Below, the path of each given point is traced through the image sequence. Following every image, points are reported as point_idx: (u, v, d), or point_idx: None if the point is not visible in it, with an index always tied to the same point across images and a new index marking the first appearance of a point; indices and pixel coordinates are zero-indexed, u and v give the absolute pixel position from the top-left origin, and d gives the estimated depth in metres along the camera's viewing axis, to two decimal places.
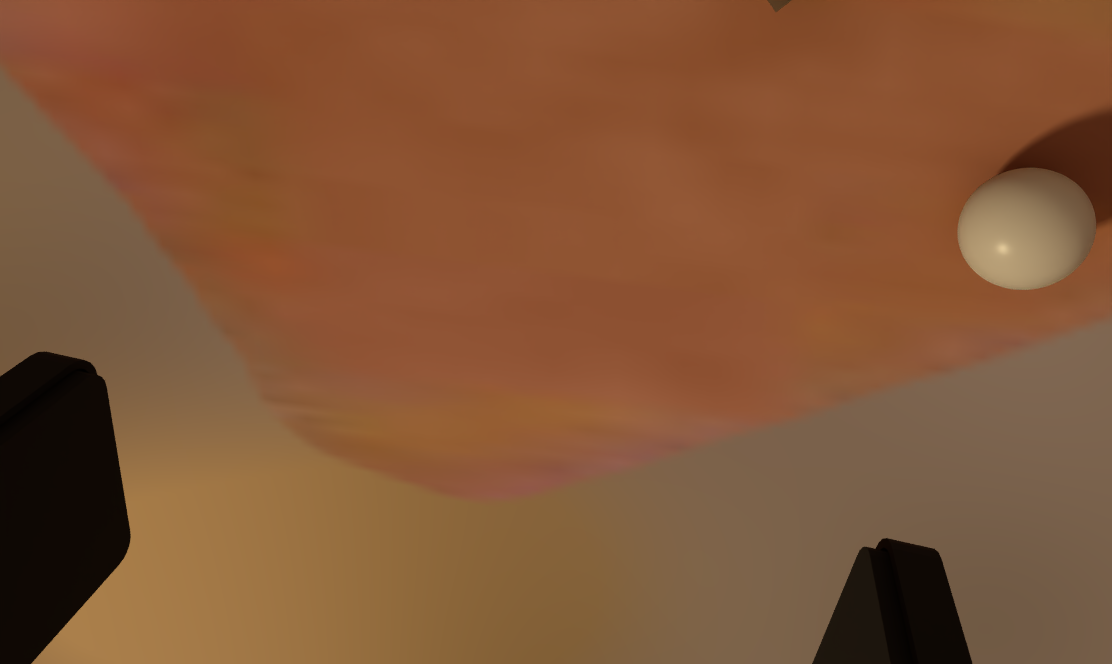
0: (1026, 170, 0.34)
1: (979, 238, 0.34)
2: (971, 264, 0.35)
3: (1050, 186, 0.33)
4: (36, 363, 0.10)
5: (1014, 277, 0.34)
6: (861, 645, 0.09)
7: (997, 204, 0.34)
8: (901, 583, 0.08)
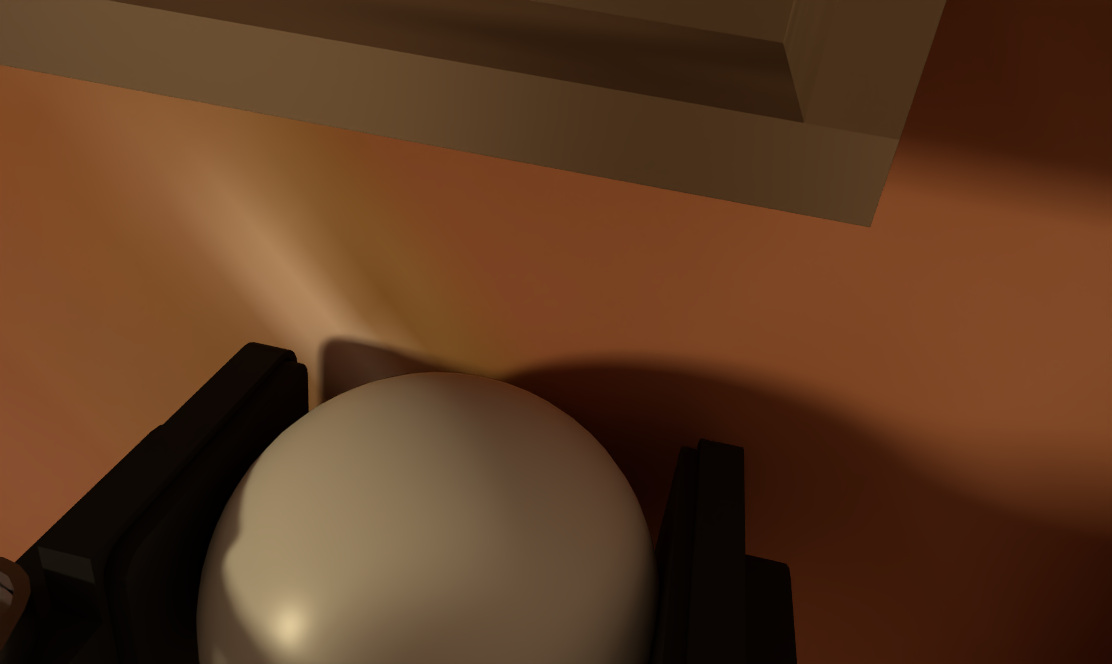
0: None
1: None
2: None
3: None
4: (251, 352, 0.10)
5: None
6: (668, 527, 0.10)
7: None
8: (702, 471, 0.10)
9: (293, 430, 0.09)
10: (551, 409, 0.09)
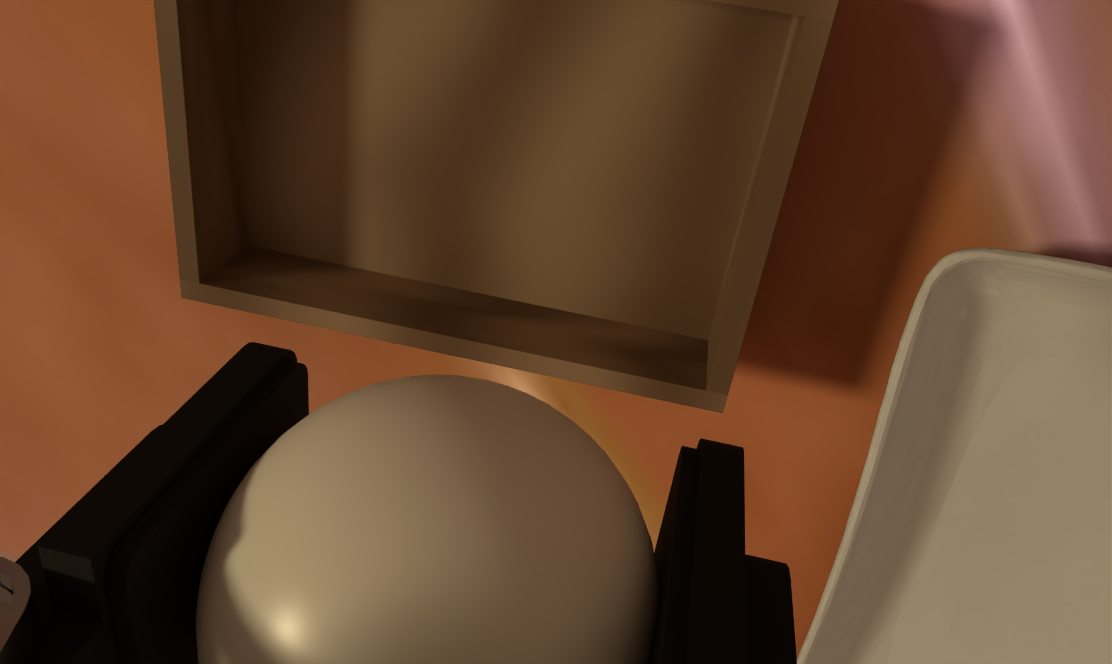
0: None
1: None
2: None
3: None
4: (251, 353, 0.10)
5: None
6: (668, 527, 0.10)
7: None
8: (701, 471, 0.10)
9: (293, 433, 0.09)
10: (551, 412, 0.09)
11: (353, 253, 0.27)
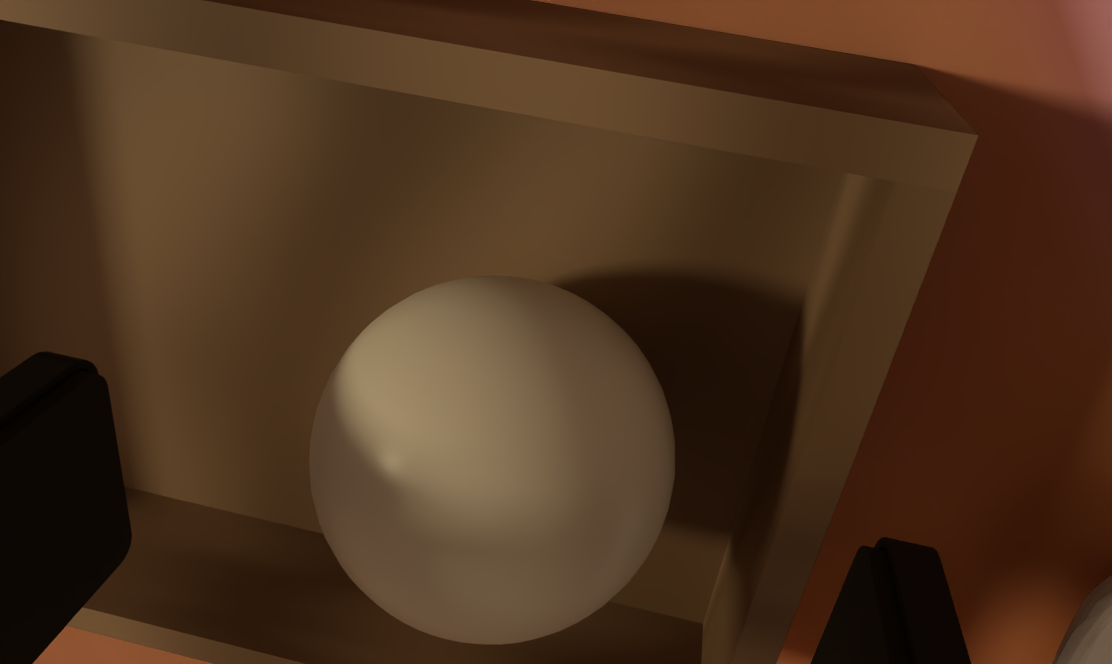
0: None
1: None
2: None
3: None
4: (38, 363, 0.10)
5: None
6: (860, 644, 0.09)
7: None
8: (900, 582, 0.08)
9: (385, 315, 0.11)
10: (588, 302, 0.12)
11: (147, 474, 0.17)
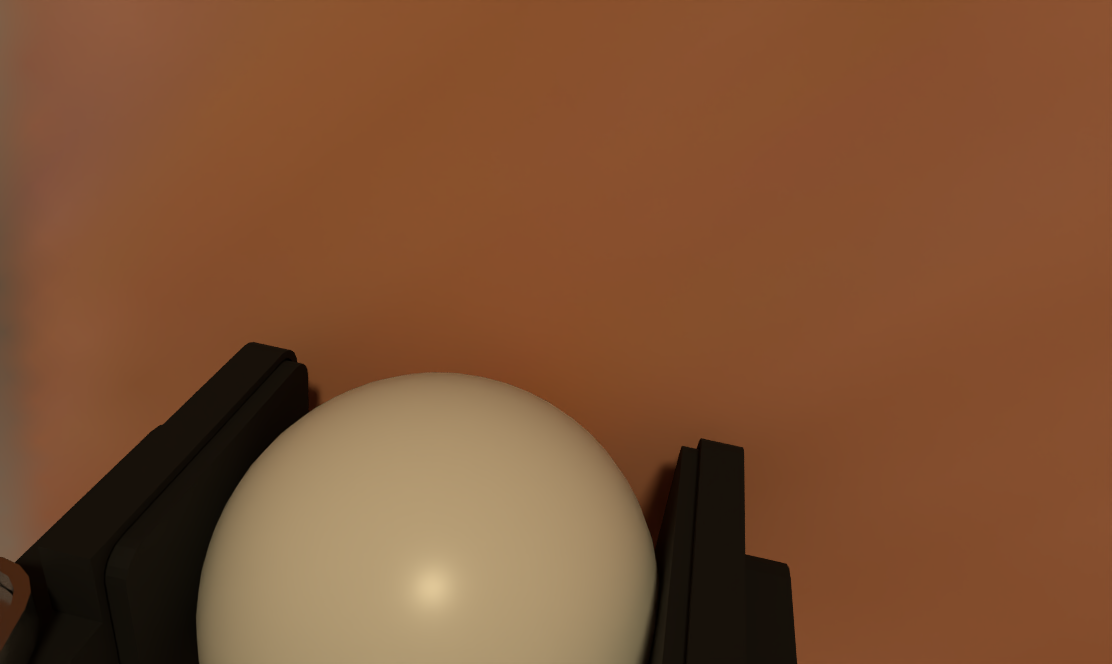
0: None
1: (545, 619, 0.07)
2: (443, 472, 0.08)
3: None
4: (251, 353, 0.10)
5: (304, 644, 0.07)
6: (668, 527, 0.10)
7: None
8: (702, 471, 0.10)
9: None
10: None
11: None
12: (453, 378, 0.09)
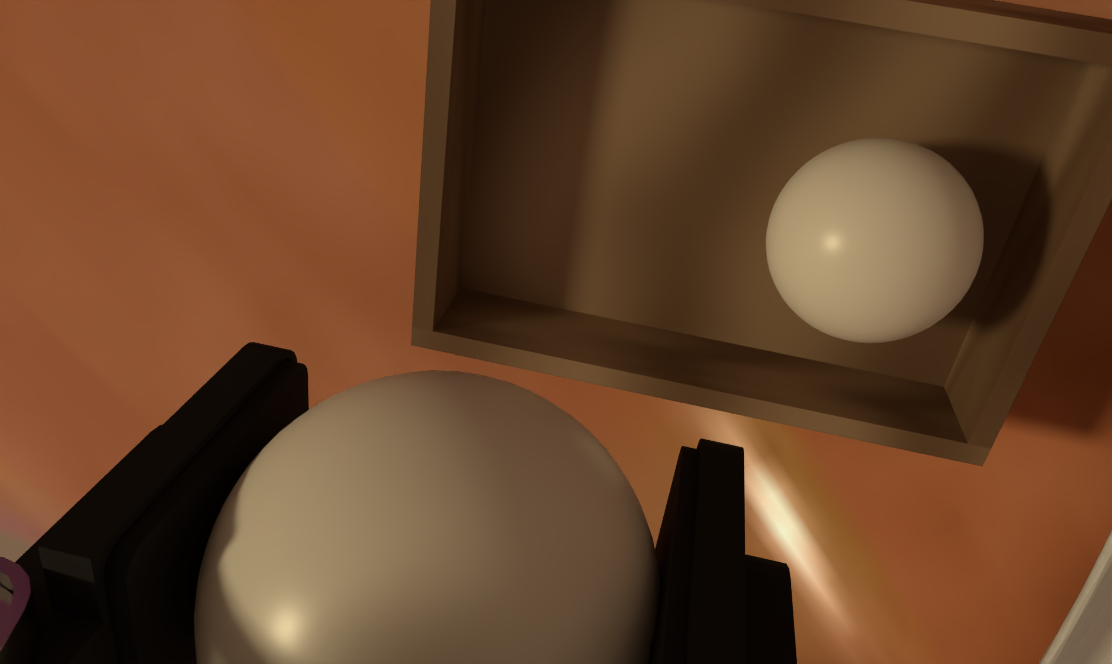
0: None
1: (545, 619, 0.07)
2: (442, 471, 0.08)
3: None
4: (251, 353, 0.10)
5: (301, 643, 0.07)
6: (668, 527, 0.10)
7: None
8: (702, 471, 0.10)
9: (824, 155, 0.20)
10: None
11: (573, 296, 0.26)
12: (452, 376, 0.09)
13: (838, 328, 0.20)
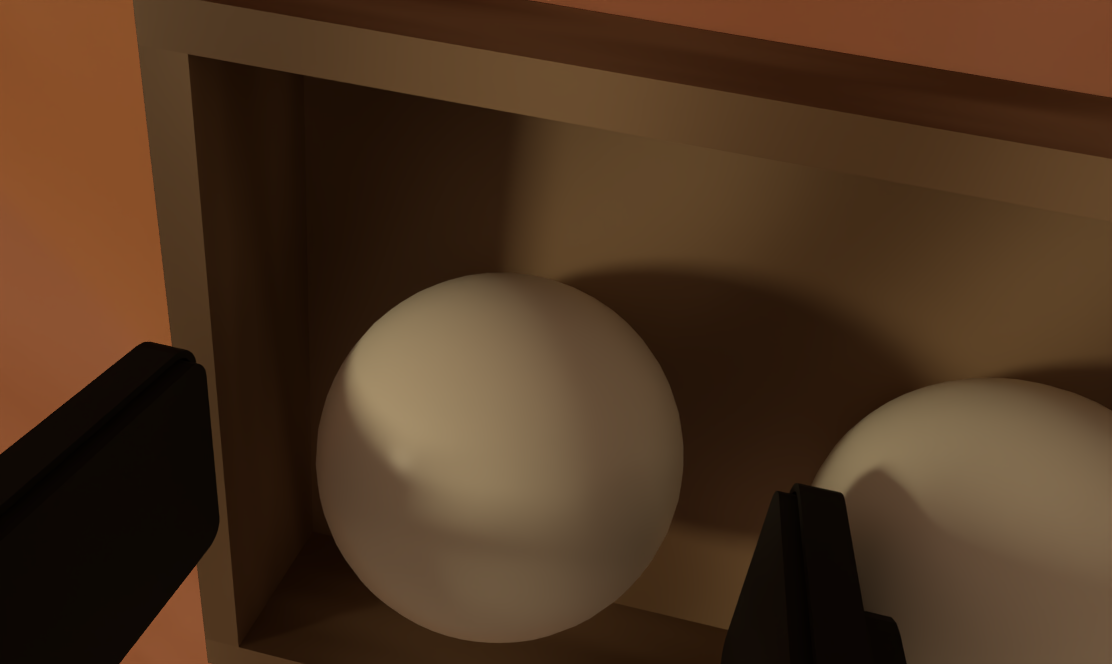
0: None
1: (607, 438, 0.10)
2: (522, 332, 0.10)
3: None
4: (144, 352, 0.10)
5: (425, 459, 0.09)
6: (768, 579, 0.09)
7: (657, 519, 0.10)
8: (804, 521, 0.09)
9: (912, 422, 0.11)
10: None
11: None
12: (514, 273, 0.11)
13: None
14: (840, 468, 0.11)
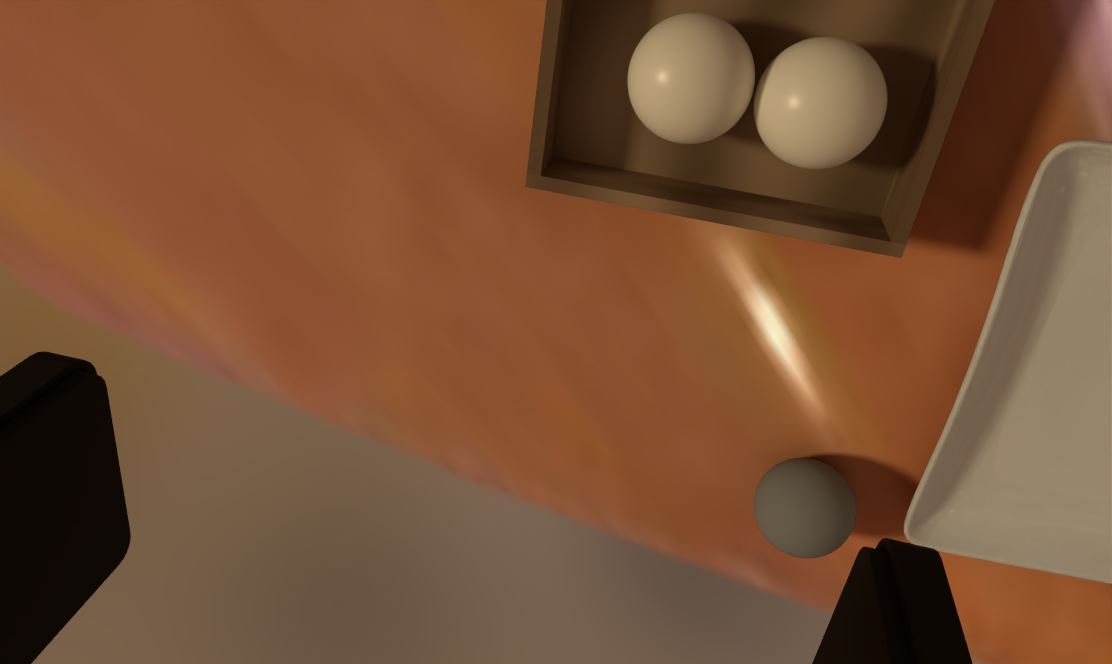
0: None
1: (748, 49, 0.32)
2: (717, 21, 0.32)
3: None
4: (36, 363, 0.10)
5: (713, 59, 0.31)
6: (861, 645, 0.09)
7: None
8: (901, 583, 0.08)
9: (789, 47, 0.33)
10: None
11: (630, 160, 0.38)
12: None
13: (793, 154, 0.33)
14: None
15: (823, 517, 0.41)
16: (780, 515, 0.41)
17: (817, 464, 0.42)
